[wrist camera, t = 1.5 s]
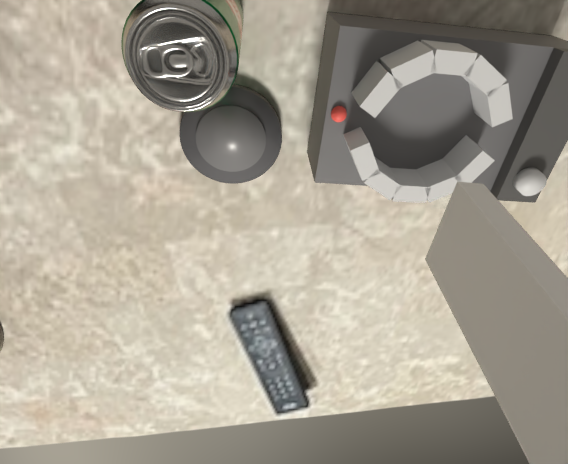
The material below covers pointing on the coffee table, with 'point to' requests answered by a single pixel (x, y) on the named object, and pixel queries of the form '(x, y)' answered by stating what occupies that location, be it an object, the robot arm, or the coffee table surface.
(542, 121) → the camera body
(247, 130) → the lens cap
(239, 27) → the soda can
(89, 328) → the coffee table surface
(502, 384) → the robot arm
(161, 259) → the coffee table surface
